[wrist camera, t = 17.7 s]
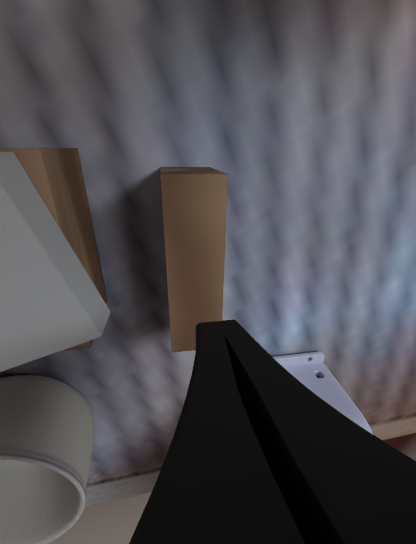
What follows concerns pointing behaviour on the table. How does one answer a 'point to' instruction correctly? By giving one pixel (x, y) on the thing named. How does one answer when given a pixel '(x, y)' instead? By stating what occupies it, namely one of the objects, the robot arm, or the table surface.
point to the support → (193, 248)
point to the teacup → (42, 458)
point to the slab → (39, 277)
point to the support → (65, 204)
